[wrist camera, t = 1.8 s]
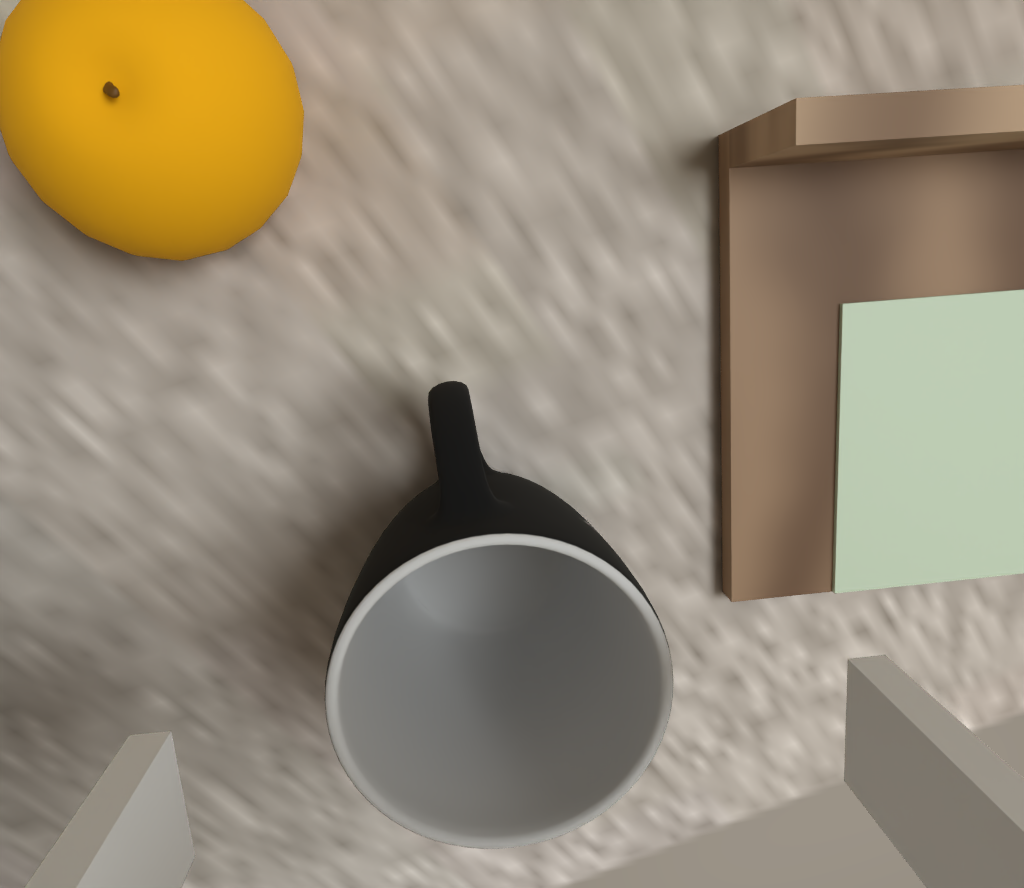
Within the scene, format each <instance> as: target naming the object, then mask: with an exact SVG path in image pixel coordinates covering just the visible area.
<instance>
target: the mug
mask: <svg viewBox="0 0 1024 888" xmlns="http://www.w3.org/2000/svg"><path fill="white" fill-rule="evenodd" d="M428 406H429V416H430V424H431V431H432V438H433V445H434V451H435V457H436V463H437V470H438V476H439V480H438V481H437V482H436V483H435V484H434V485H432V486H431V487H429V488H427V489H426V490H424V491H423V492H421V493H420V494H419V495H417V496H416V497H415V498H414V499H413V500H412V501H410V502H409V503H408V504H407V505H406V506H405V507H404V508H403V509H402V510H401V511H400V512H399V513H398V514H397V516H396V517H395V518H394V519H393V521H392V522H391V523H390V524H389V526H388V527H387V528H386V530H385V531H384V532H383V534H382V535H381V537H380V539H379V540H378V542H377V543H376V545H375V546H374V548H373V550H372V551H371V553H370V555H369V557H368V559H367V561H366V562H365V564H364V566H363V568H362V570H361V572H360V574H359V576H358V579H357V581H356V583H355V585H354V587H353V589H352V591H351V594H350V596H349V598H348V601H347V604H346V606H345V609H344V612H343V614H342V617H341V620H340V622H339V625H338V628H337V631H336V634H335V637H334V641H333V645H332V649H331V653H330V657H329V661H328V667H327V674H326V681H325V709H326V720H327V725H328V730H329V734H330V738H331V741H332V744H333V747H334V750H335V752H336V754H337V757H338V759H339V761H340V763H341V765H342V767H343V768H344V770H345V772H346V774H347V775H348V777H349V778H350V780H351V781H352V782H353V784H354V785H355V787H356V788H357V789H358V790H359V791H360V793H361V794H362V795H363V796H364V797H365V798H366V799H367V800H368V801H369V802H370V803H371V804H372V805H373V806H374V807H376V808H377V809H378V810H379V811H380V812H382V813H383V814H384V815H386V816H387V817H388V818H390V819H391V820H393V821H394V822H396V823H398V824H399V825H401V826H403V827H404V828H406V829H408V830H410V831H412V832H415V833H417V834H419V835H421V836H424V837H427V838H429V839H432V840H435V841H439V842H442V843H446V844H450V845H456V846H461V847H468V848H479V849H502V848H514V847H520V846H526V845H531V844H535V843H539V842H543V841H547V840H550V839H553V838H556V837H558V836H561V835H564V834H566V833H568V832H570V831H573V830H575V829H577V828H579V827H581V826H583V825H584V824H586V823H588V822H590V821H592V820H593V819H595V818H596V817H598V816H599V815H601V814H602V813H604V812H605V811H606V810H607V809H609V808H610V807H611V806H612V805H614V804H615V803H616V802H617V801H618V800H619V799H620V798H622V797H623V796H624V795H625V794H626V793H627V792H628V791H629V790H630V788H631V787H632V786H633V785H634V784H635V783H636V782H637V781H638V779H639V778H640V777H641V775H642V774H643V772H644V771H645V770H646V768H647V767H648V765H649V764H650V762H651V760H652V759H653V757H654V755H655V754H656V751H657V749H658V747H659V745H660V743H661V741H662V738H663V735H664V733H665V730H666V727H667V724H668V720H669V716H670V711H671V705H672V698H673V669H672V661H671V656H670V651H669V646H668V643H667V639H666V636H665V633H664V630H663V628H662V625H661V623H660V621H659V618H658V616H657V614H656V612H655V610H654V608H653V607H652V605H651V603H650V601H649V599H648V598H647V596H646V594H645V592H644V591H643V589H642V588H641V586H640V585H639V583H638V582H637V580H636V579H635V578H634V576H633V575H632V573H631V572H630V571H629V569H628V568H627V566H626V565H625V564H624V562H623V561H622V560H621V559H620V557H619V556H618V555H617V554H616V552H615V551H614V550H613V549H612V548H611V546H610V545H609V544H608V543H607V542H606V541H605V540H604V539H603V537H602V536H601V535H600V534H599V533H598V532H597V531H596V530H595V529H594V528H593V527H592V526H591V525H590V523H589V522H587V521H586V520H585V519H584V518H583V517H582V516H581V515H580V514H579V513H578V512H577V511H576V510H575V509H573V508H572V507H571V506H570V505H569V504H567V503H566V502H565V501H563V500H562V499H561V498H559V497H558V496H557V495H555V494H554V493H552V492H550V491H549V490H547V489H545V488H544V487H542V486H540V485H538V484H536V483H534V482H532V481H530V480H527V479H524V478H522V477H519V476H515V475H511V474H507V473H501V472H497V471H494V470H492V469H491V468H490V467H489V466H488V465H487V463H486V461H485V460H484V458H483V455H482V453H481V451H480V447H479V442H478V436H477V431H476V426H475V421H474V415H473V410H472V405H471V400H470V395H469V390H468V388H467V386H466V385H465V384H463V383H462V382H457V381H449V382H444V383H441V384H438V385H437V386H435V387H433V388H432V389H431V390H430V392H429V396H428Z"/></svg>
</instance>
